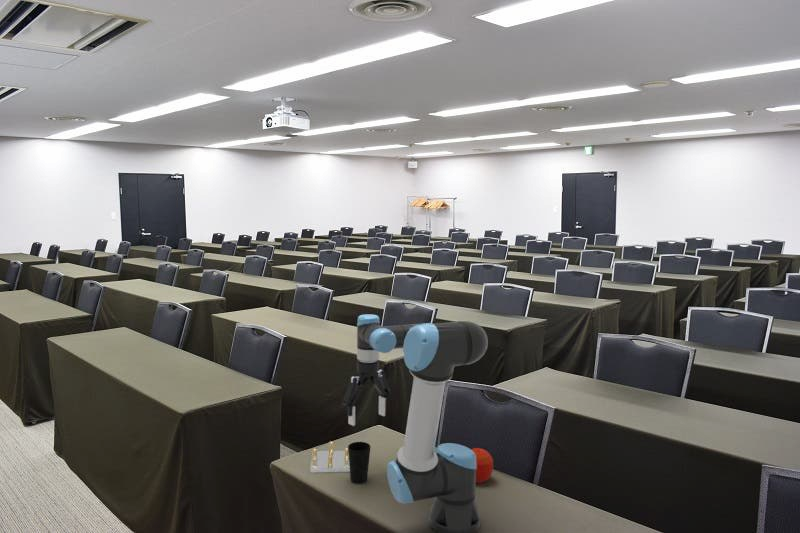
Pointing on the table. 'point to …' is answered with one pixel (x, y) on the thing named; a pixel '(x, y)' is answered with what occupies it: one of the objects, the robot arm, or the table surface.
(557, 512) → the table surface
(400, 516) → the table surface
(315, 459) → the white board with pegs
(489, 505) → the table surface
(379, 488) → the table surface
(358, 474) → the cup
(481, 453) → the apple
